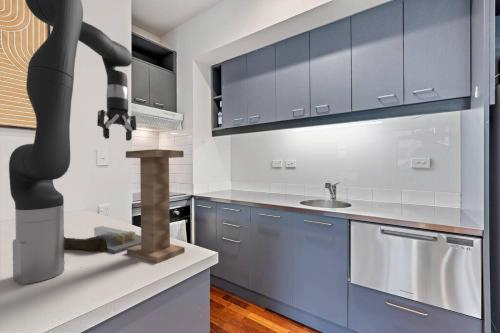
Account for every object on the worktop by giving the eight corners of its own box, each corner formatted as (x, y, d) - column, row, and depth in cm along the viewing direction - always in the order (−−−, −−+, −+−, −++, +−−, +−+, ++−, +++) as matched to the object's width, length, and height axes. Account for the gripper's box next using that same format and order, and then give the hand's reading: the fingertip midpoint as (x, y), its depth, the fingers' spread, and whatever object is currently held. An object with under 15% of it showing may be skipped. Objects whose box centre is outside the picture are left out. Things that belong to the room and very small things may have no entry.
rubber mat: (115, 253, 76) (115, 250, 76) (81, 242, 88) (81, 239, 88) (153, 241, 88) (153, 238, 88) (119, 233, 99) (119, 230, 99)
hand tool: (53, 250, 80) (53, 236, 80) (65, 246, 84) (65, 233, 84) (99, 255, 75) (99, 240, 75) (110, 251, 79) (109, 236, 79)
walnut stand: (157, 263, 68) (156, 149, 68) (126, 253, 76) (125, 151, 76) (184, 252, 76) (183, 150, 76) (154, 244, 84) (153, 152, 84)
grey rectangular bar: (122, 244, 82) (122, 235, 82) (91, 236, 92) (91, 228, 92) (135, 240, 86) (135, 232, 86) (104, 233, 96) (104, 225, 96)
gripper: (103, 92, 88) (104, 137, 88) (139, 101, 100) (140, 140, 100) (93, 95, 92) (94, 138, 92) (129, 103, 104) (129, 141, 104)
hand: (118, 139), depth 96 cm, fingers open, 8 cm apart
